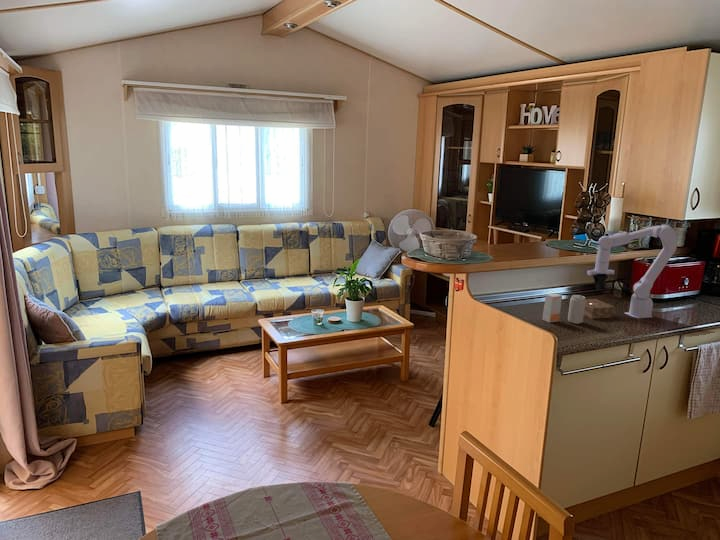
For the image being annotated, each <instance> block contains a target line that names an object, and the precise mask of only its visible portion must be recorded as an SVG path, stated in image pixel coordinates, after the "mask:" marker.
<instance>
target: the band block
mask: <svg viewBox="0 0 720 540" xmlns="http://www.w3.org/2000/svg"><path fill="white" fill-rule="evenodd" d="M585 300H586V303H585V310H584V317H586V316H587V317H586V318H588V317H589V319H591V320H592V319H594V320H595V318H596V319H607V318H614V316H615V313H616V306H614V305H611V304H609V303H606V302H604V301H602V300H599V299H596V298H592V299H591V298H590V299H585ZM589 302H594V303H598V304H599V305H591V304H589Z"/></svg>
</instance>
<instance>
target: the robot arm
mask: <svg viewBox="0 0 720 540" xmlns="http://www.w3.org/2000/svg"><path fill="white" fill-rule="evenodd" d="M645 237H653V238H657V239H658V238H659V239H660V241H661V244H662V249H661V250H660V252H659V253H658V254H657V256H656V258H655V259H654V260H653V262H652V263H651V265H650V266H649V268H648V269H647V271H646V272H645V274H644V275H643V276H642V277H641V278H640V280H638V281H637V282H635V283H634V284H633V286H632V290H633V292H634V293H633V294H631V297H630V303H629V304H630V305H629V310H628V311H627V312H624V314H625V315H627V316H630V317H632V318H635V319H647V318H648V319H649V318H653V315H652V313H653V308H654V307H653V306H654V302H653V300H652V298H651V297H649V296H650V295H651V290H652V288H653V285H654V282H655V281H656V279H657V278H658V277H659V276H660V273H661V272H662V271H663V269H664V268H665V267H666V265H667V264H668V262H669V260H671V258H672V256H673V255H674V253H675V252H676V250H677V233H676V232H675V230H674V229H673V227H672V226H670V225H668V224H660V225H659V224H658V225H653V226H649V227H647V228H642V229H639V230H635V231H632V232H627V231H623V230H619V231H618V233H613V234H611V233H609V234H608V235H602V236H601V237H599V239H598V241H597V242H598V248H597V251H596V259H595V267H594V268H593V269H589V270H586V275H587V276H592V278H593V280H594V286H595V289H596V290H599V291H601V290H602V288H603V285H604V284H605V282H606V280H607V279H608V278H609V275H614V274H615V269H609V265H610V259H611V248H612V247H614V248H615V247H618V246H622V245H623V246H624V245H626V244H629V243H630V242H631V240H637V239H640V238H641V239H642V238H645Z"/></svg>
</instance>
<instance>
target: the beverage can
mask: <svg viewBox="0 0 720 540" xmlns="http://www.w3.org/2000/svg"><path fill="white" fill-rule="evenodd" d="M586 300H587V299H586V297H585V296H583V295H580V294H572V295H571V297H570V300H569V306H568V307H569V308H568V314H567V321H568V322H569V323H570V322H571V323H570V324H573V323H574V325H581V324H582V323H583V322H584V317H585V316H584V310H585V303H586ZM580 323H581V324H580Z"/></svg>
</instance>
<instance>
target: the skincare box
mask: <svg viewBox="0 0 720 540" xmlns="http://www.w3.org/2000/svg"><path fill="white" fill-rule="evenodd" d="M562 299H563V295H561V294H559V293H558V294H557V293H550V294H549V293H547V294H545V298H544V303H543V304H544V306H543V310H542V311H543V312H542V319H541V320H542V321H544V322H547V323H554V322H555V323H556V322H557V323H558V322H559V320H560V313H561V309H562V308H561V307H562V306H561V305H562Z"/></svg>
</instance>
